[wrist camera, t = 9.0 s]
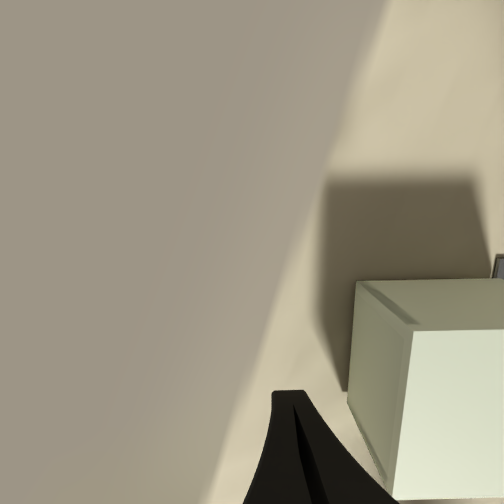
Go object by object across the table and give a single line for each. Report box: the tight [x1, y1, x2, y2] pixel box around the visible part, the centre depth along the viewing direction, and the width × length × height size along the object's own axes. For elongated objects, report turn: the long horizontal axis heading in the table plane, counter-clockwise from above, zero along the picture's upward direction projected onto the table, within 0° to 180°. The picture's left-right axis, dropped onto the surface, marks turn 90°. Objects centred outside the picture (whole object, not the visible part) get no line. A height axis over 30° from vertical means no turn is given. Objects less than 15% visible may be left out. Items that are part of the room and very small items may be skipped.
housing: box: [347, 278, 504, 500], centre depth 14 cm, size 8×8×6 cm
